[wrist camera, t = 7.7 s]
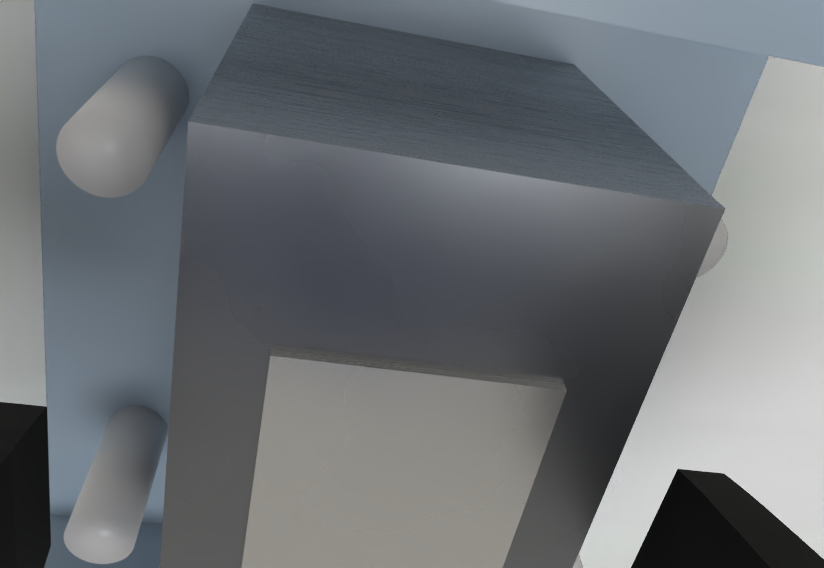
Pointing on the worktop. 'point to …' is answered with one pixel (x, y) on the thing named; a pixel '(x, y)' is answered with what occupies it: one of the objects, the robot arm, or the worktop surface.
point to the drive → (412, 302)
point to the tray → (165, 174)
